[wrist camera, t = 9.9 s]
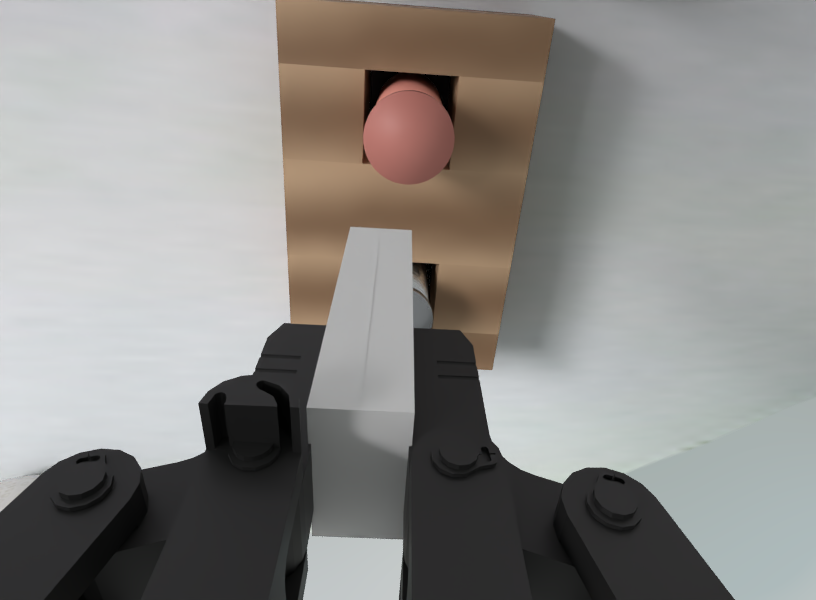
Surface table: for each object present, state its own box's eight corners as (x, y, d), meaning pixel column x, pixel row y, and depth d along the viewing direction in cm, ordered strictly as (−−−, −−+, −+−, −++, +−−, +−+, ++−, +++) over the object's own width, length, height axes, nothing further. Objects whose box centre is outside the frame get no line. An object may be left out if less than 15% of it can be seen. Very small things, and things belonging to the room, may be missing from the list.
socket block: (297, -4, 32) (275, -3, 27) (531, 14, 32) (555, 18, 27) (306, 314, 43) (292, 358, 38) (482, 324, 43) (492, 369, 38)
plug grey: (370, 227, 39) (360, 285, 31) (431, 231, 39) (436, 290, 31) (368, 280, 41) (359, 347, 34) (425, 284, 41) (429, 352, 34)
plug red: (375, 65, 33) (364, 88, 25) (447, 70, 33) (459, 95, 25) (372, 139, 35) (362, 181, 27) (440, 143, 35) (449, 187, 27)
